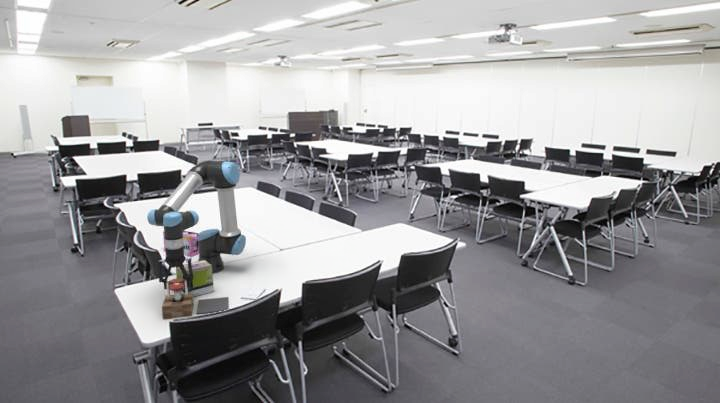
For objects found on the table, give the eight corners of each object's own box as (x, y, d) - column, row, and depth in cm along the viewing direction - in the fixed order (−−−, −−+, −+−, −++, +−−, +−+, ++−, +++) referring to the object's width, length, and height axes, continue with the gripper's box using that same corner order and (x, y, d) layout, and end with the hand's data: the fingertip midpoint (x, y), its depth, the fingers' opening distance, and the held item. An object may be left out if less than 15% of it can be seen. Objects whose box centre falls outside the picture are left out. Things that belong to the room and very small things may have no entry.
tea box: (206, 285, 225) (205, 259, 222) (214, 291, 218) (212, 264, 214) (177, 292, 215) (175, 265, 212) (184, 299, 208) (182, 271, 205)
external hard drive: (265, 291, 222) (256, 301, 210) (250, 289, 223) (240, 299, 211) (265, 288, 222) (255, 298, 210) (250, 286, 223) (240, 296, 211)
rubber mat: (198, 301, 207) (198, 299, 207) (228, 298, 211) (228, 296, 211) (196, 314, 194) (196, 313, 194) (228, 311, 198) (228, 309, 198)
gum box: (202, 253, 271) (200, 233, 268) (192, 257, 264) (191, 236, 261) (173, 248, 280) (172, 228, 277) (163, 251, 273) (162, 231, 270)
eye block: (166, 307, 200) (165, 295, 199) (193, 304, 203) (193, 292, 202) (162, 319, 189) (161, 306, 187) (191, 316, 192) (190, 304, 191)
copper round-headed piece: (171, 309, 198) (169, 279, 195) (187, 307, 200) (185, 277, 197) (169, 316, 192) (167, 285, 189) (186, 314, 194) (184, 283, 191)
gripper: (148, 251, 183) (152, 300, 188) (197, 248, 189) (200, 296, 194) (151, 245, 190) (155, 293, 195) (198, 243, 196) (201, 289, 201)
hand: (177, 294), depth 194 cm, fingers closed on copper round-headed piece, 7 cm apart
